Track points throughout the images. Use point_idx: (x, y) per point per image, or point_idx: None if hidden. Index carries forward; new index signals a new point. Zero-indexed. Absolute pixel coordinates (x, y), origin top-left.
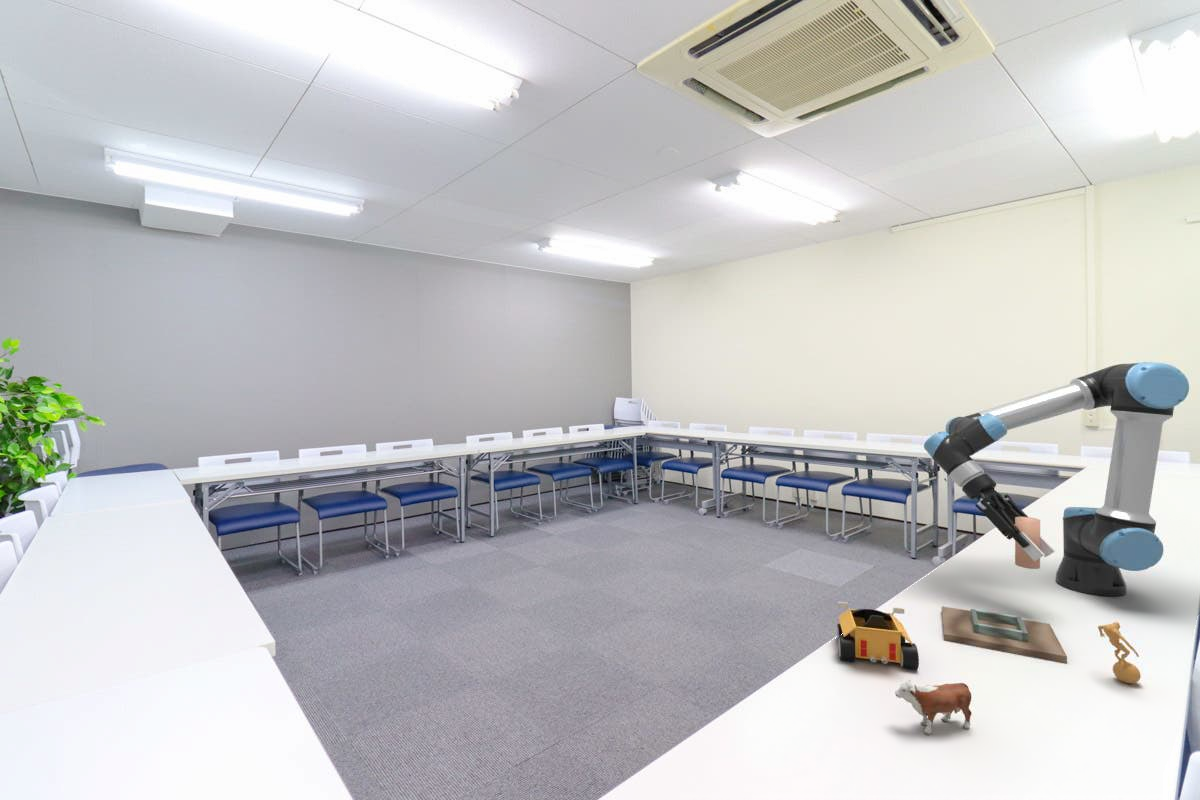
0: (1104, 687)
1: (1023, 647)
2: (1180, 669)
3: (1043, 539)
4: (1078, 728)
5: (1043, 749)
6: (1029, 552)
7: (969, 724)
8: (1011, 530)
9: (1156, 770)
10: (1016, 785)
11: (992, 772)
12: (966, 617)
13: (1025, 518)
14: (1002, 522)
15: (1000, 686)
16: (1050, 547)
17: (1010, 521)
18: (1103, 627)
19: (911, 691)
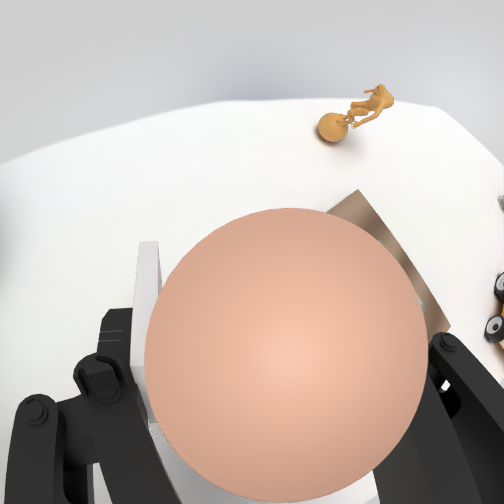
0: (364, 148)
1: (391, 238)
2: (210, 108)
3: (147, 289)
4: (441, 148)
5: (473, 159)
6: None
7: (500, 197)
8: (456, 337)
9: (428, 108)
10: (496, 160)
11: (501, 172)
12: None
13: (308, 395)
14: (498, 395)
15: (457, 214)
16: (157, 254)
17: (435, 421)
18: (392, 104)
19: None
